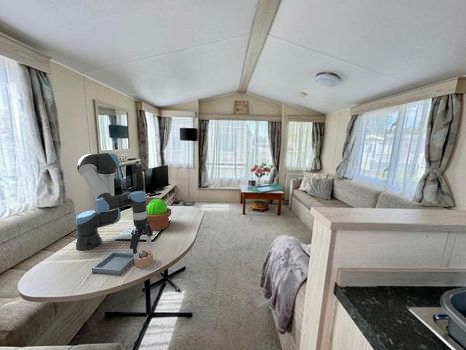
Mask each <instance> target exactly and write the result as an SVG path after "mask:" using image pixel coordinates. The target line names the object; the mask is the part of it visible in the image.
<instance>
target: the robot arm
mask: <svg viewBox="0 0 466 350" xmlns="http://www.w3.org/2000/svg"><path fill="white" fill-rule="evenodd" d="M119 168H120V160H119V158H118V156H117V154H115V153H114V152H102V153H101V152H99V153H87V154H85V155H83V156H81V158H80V159H79V160H78V161H77V164H76V169H77V172H78V174H79V175H80V176H82V177H83V179H84V180H85V182H86V184H87V186H88V188H89V190H90V191H91V193H92V194H93V196H94V198H95V200H94V202H93V203H94V209H95V210H93V209H92V210H86V211H83V212H81V213H79V214H77V215H76V216H75V226H76V233H77V237H76V238H77V239H76V242H75V249H76V250H79V251H87V250H92V249H94V248H96V247H98V246H100V245H101V244H102V243H103V241H102V237H101V235H100V234H99V230H98V229H100V228H104V227H107V226H111V225H114V224H117V223H119V221H120V219H121V214H122V213H121V208H122V209H123V208H125V207H126V208H127V207H131V208H132V209H131V210H132V218H133V226H134V227H135V229H134V230H133V229H132V231H131V233H132V234H131V238H130V240H131V241H130V245H129V249H131V250H132V253H133V254H134V258H136V259H139V252H140V250H139V247H138V245H139V242H140V240H141V237H142V235H143V234H145V235H146V237H145V239H146V247H152V236H153V235H154V234H153V233H154V232H153V231H154V230H152V229H151V227H150V224H149V222H148V219H147V206H148V205H147V195H146V192H145V191H143V190H138V191H137V190H136V191H133V192H132V191H125V192H123V193H122V194H121V193H120V194H117V195H116V194H115V176H114V175H115V174H117V170H119Z"/></svg>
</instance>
